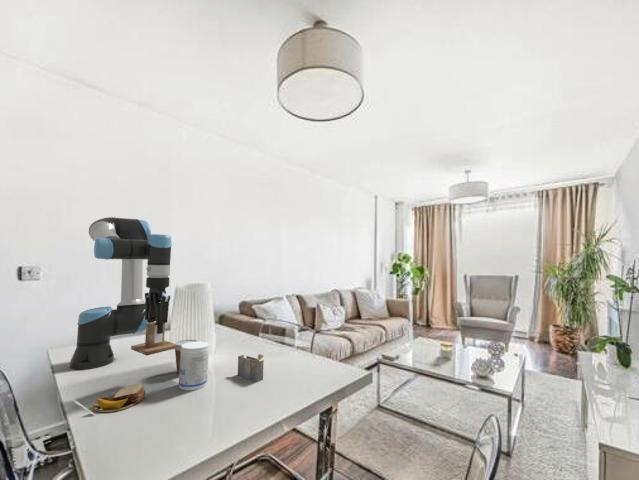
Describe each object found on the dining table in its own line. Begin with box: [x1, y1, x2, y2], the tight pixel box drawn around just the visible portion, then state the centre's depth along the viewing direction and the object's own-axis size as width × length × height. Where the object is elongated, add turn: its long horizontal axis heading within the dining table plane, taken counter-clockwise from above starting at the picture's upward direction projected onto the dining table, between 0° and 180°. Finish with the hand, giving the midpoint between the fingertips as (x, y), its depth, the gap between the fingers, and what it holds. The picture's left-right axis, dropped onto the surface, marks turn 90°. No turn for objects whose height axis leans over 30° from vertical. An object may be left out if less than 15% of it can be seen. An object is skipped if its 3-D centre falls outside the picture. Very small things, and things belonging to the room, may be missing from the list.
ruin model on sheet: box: [237, 353, 265, 383], centre depth 120 cm, size 11×3×10 cm, turn 55°
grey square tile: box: [127, 375, 179, 396], centre depth 111 cm, size 12×12×1 cm
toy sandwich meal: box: [92, 384, 146, 413], centre depth 97 cm, size 12×14×5 cm
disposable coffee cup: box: [174, 339, 199, 375], centre depth 124 cm, size 10×10×12 cm
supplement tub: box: [178, 341, 210, 391], centre depth 111 cm, size 10×10×15 cm
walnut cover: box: [130, 321, 177, 357], centre depth 112 cm, size 11×11×9 cm
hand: (154, 341), depth 112 cm, fingers closed on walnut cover, 3 cm apart
